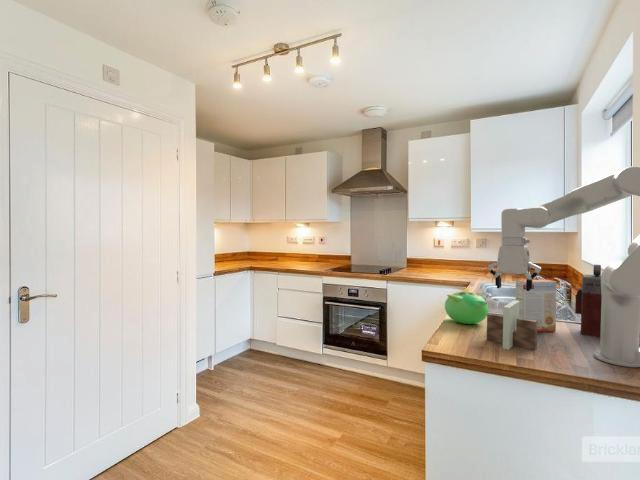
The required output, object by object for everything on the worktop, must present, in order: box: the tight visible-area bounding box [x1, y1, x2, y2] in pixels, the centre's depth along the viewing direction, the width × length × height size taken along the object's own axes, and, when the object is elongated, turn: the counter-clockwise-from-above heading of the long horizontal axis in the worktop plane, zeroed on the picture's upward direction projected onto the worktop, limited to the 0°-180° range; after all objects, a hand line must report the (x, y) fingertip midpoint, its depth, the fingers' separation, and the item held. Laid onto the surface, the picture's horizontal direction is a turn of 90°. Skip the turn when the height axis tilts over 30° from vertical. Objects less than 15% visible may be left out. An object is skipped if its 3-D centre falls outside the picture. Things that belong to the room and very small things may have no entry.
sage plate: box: [502, 299, 519, 350], centre depth 127 cm, size 2×14×15 cm, turn 138°
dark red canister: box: [574, 264, 602, 338], centre depth 139 cm, size 9×11×28 cm
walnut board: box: [486, 312, 538, 351], centre depth 127 cm, size 16×2×10 cm, turn 48°
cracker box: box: [515, 279, 557, 333], centre depth 144 cm, size 14×6×21 cm, turn 92°
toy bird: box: [444, 289, 489, 325], centre depth 154 cm, size 18×17×15 cm
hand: (513, 289), depth 126 cm, fingers open, 9 cm apart
